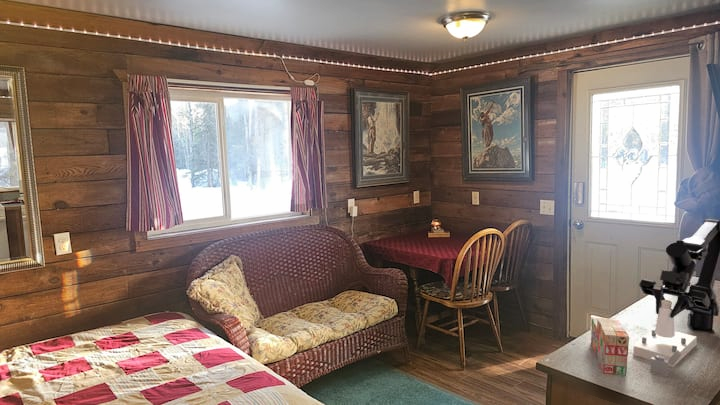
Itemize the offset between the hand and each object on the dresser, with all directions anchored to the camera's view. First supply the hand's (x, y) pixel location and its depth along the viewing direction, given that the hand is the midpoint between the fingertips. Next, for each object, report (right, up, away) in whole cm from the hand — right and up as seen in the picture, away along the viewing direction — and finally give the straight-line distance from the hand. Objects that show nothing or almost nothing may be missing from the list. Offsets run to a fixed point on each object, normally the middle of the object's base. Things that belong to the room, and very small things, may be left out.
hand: (663, 315), depth 150 cm
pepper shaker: (+1, -7, +2) cm, 7 cm away
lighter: (-7, -15, -12) cm, 20 cm away
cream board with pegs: (+3, -12, +4) cm, 13 cm away
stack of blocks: (-18, -13, -1) cm, 23 cm away
